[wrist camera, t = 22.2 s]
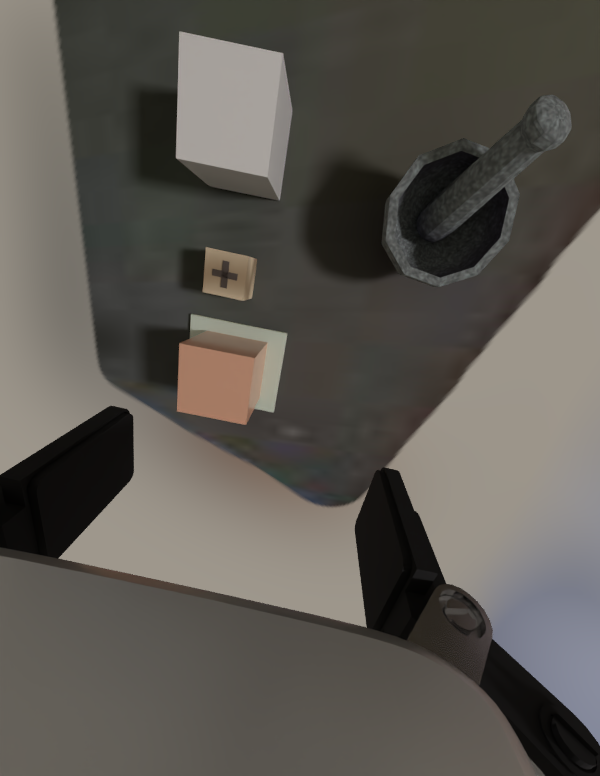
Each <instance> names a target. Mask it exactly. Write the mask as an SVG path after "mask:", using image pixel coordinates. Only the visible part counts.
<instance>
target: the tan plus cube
mask: <svg viewBox="0 0 600 776" xmlns="http://www.w3.org/2000/svg"><path fill="white" fill-rule="evenodd" d="M256 264H257V259H255V258H252V257H249V256H244V255H240V254H235V253H230V252H226V251H221V250H217V249H212V248H207V247H206V254H205V268H204V281H203V292H205V293H210V294H214V295H219V296H223V297H228V298H233V299H237V300H242V301H244V300H247V299H251V298H252V294H253V287H254V279H255V272H256Z"/></svg>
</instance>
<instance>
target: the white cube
mask: <svg viewBox="0 0 600 776" xmlns="http://www.w3.org/2000/svg"><path fill="white" fill-rule="evenodd" d="M291 117H292V105H291V99H290V93H289V87H288V81H287V75H286V69H285V63H284V57H283V53H279V52H274V51H269V50H265V49H260V48H255V47H250V46H246V45H241V44H236V43H232V42H227V41H222V40H217V39H213V38H208V37H203V36H198V35H194V34H189V33H184V32H180V31H179V66H178V102H177V137H176V159H177V160H179V161H180V162H181V163H182V164H183V165H185V166H186V167H187V168H188V169H189V170H191V171H192V172H193V173H194V174H195V175H197V176H198V177H199V178H200V179H201V180H203V181H204V182H205V183H206V184H207V185H209V186H211V187H215V188H220V189H225V190H230V191H235V192H239V193H244V194H249V195H254V196H259V197H263V198H268V199H273V200H278V201H280V195H281V188H282V181H283V174H284V167H285V160H286V153H287V146H288V139H289V132H290V124H291Z"/></svg>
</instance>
